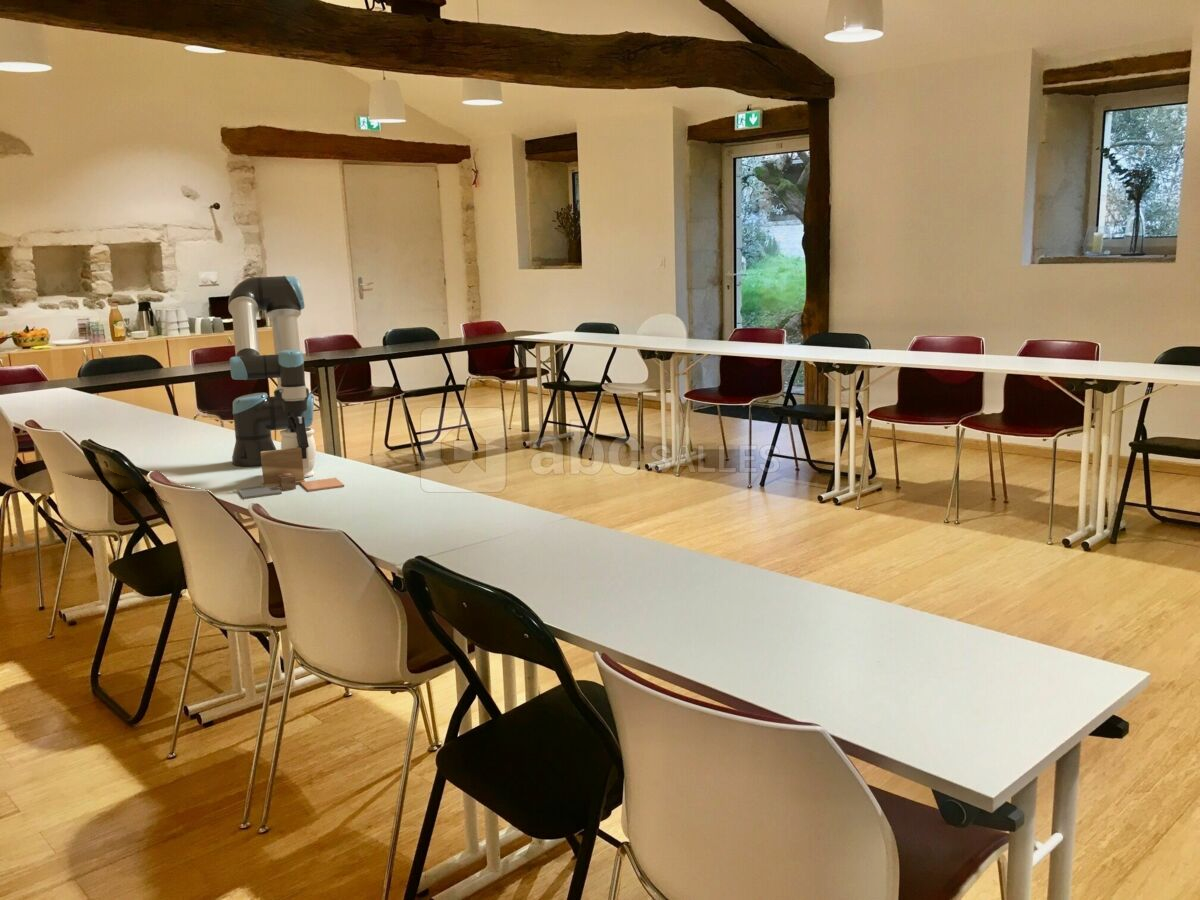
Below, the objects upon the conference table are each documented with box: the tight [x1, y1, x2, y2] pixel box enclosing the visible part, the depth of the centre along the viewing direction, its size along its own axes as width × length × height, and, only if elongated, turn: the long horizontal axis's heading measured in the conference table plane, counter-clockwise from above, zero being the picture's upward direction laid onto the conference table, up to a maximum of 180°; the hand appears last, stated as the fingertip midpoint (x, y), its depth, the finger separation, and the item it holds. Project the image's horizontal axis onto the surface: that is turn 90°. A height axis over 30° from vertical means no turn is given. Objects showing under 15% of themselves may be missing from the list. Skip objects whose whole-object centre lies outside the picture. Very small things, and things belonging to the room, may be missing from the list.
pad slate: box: [236, 485, 283, 500], centre depth 301 cm, size 11×11×1 cm
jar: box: [279, 427, 317, 479], centre depth 320 cm, size 11×10×15 cm
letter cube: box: [279, 473, 297, 492], centre depth 305 cm, size 4×4×4 cm
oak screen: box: [261, 447, 306, 488], centre depth 310 cm, size 5×12×11 cm, turn 118°
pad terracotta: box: [299, 477, 345, 492], centre depth 309 cm, size 11×11×1 cm
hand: (299, 464), depth 321 cm, fingers open, 12 cm apart
